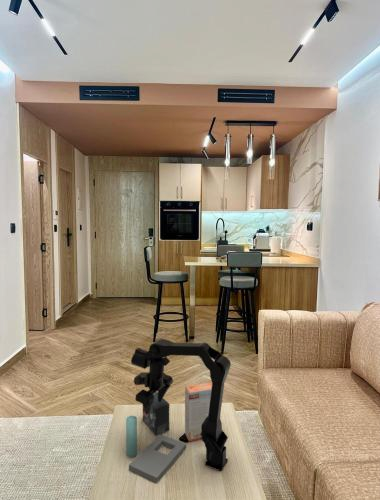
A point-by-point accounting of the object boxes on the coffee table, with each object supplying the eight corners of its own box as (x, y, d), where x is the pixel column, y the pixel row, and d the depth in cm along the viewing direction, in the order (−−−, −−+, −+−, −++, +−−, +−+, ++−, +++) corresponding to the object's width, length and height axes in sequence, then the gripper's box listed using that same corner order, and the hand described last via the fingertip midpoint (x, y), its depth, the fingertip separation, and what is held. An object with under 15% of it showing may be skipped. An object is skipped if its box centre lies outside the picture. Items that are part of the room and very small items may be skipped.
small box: (141, 420, 148) (141, 394, 147) (155, 415, 152) (155, 390, 151) (155, 436, 137) (155, 408, 136) (169, 430, 141) (170, 403, 140)
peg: (138, 452, 127) (139, 417, 126) (132, 458, 123) (132, 423, 122) (130, 448, 129) (130, 414, 128) (123, 455, 125) (123, 419, 124)
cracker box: (214, 427, 143) (216, 380, 142) (220, 435, 138) (221, 387, 136) (184, 433, 139) (184, 385, 137) (188, 442, 133) (189, 392, 131)
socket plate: (186, 448, 129) (186, 443, 129) (156, 483, 112) (156, 477, 112) (160, 438, 135) (160, 433, 135) (128, 470, 118) (128, 464, 118)
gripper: (152, 356, 142) (149, 389, 144) (125, 375, 125) (122, 412, 128) (174, 364, 137) (171, 398, 139) (149, 385, 120) (146, 423, 123)
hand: (153, 407), depth 132 cm, fingers open, 9 cm apart
